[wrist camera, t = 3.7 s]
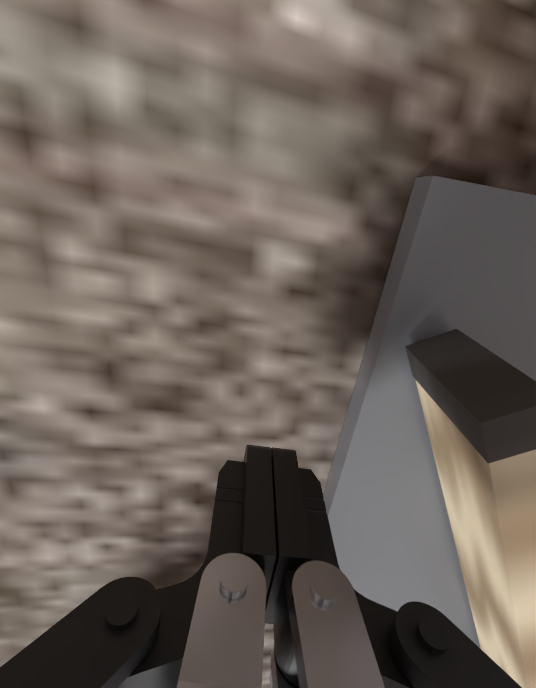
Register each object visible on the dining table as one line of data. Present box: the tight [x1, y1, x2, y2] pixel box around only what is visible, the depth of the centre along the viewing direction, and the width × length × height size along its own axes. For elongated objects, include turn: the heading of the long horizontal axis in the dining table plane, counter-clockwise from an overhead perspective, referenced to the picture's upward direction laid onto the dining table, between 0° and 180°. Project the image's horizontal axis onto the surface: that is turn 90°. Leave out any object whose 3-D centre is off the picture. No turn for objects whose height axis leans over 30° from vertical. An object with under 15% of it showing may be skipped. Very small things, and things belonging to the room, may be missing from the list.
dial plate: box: [270, 176, 536, 688], centre depth 17 cm, size 28×20×1 cm
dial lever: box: [405, 329, 536, 688], centre depth 13 cm, size 23×4×6 cm, turn 21°
